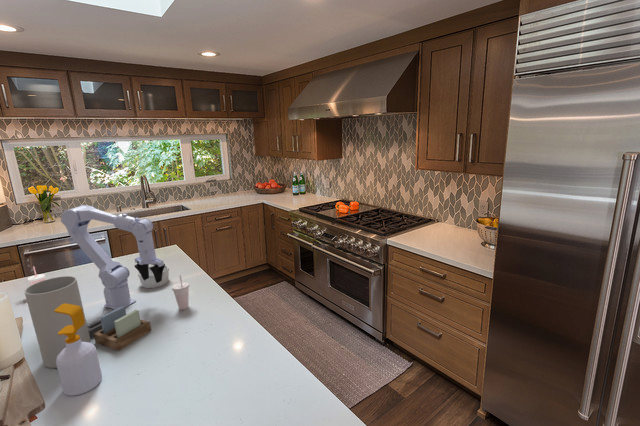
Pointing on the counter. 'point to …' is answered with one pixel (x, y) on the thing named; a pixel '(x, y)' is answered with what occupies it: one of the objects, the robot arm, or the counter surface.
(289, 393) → the counter surface
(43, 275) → the beverage cup
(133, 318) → the thin sage green tile
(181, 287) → the smoothie
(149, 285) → the ramekin
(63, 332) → the soap bottle
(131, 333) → the rack
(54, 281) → the cylinder vase
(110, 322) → the blue grey tile
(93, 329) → the stand
